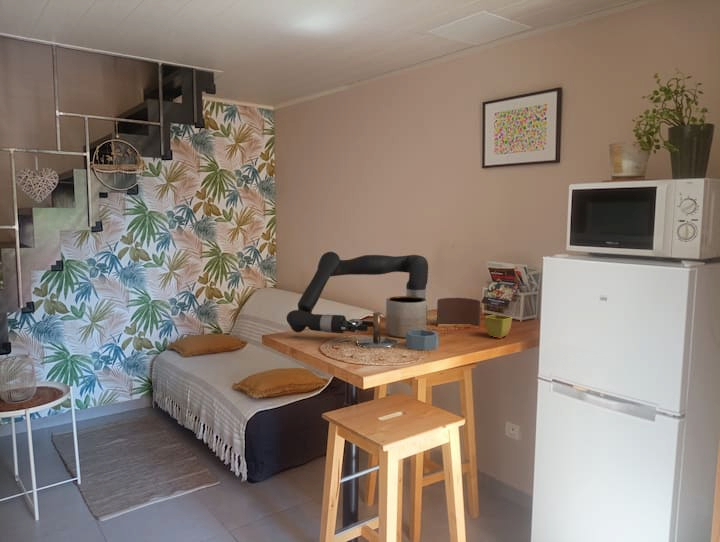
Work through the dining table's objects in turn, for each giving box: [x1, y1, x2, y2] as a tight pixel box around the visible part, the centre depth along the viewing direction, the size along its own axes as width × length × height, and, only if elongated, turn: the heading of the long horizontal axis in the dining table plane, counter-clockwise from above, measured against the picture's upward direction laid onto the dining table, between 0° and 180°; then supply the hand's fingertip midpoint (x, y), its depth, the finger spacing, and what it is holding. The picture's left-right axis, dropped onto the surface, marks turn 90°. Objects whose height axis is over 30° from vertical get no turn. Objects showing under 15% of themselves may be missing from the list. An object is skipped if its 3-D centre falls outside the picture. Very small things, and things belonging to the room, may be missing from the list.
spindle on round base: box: [357, 311, 398, 349], centre depth 222 cm, size 17×17×13 cm
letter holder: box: [436, 297, 481, 326], centre depth 260 cm, size 10×20×14 cm, turn 80°
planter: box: [385, 295, 427, 339], centre depth 240 cm, size 18×18×16 cm
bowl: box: [405, 329, 440, 352], centre depth 218 cm, size 12×12×6 cm
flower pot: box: [484, 313, 513, 337], centre depth 236 cm, size 9×9×9 cm
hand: (370, 326), depth 223 cm, fingers open, 8 cm apart
